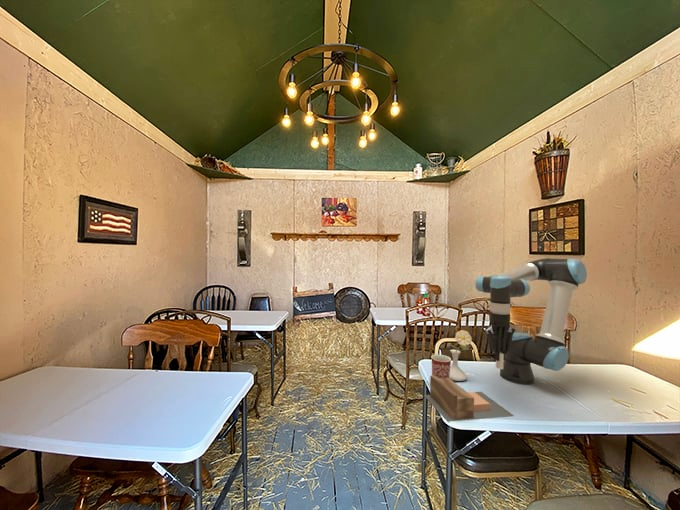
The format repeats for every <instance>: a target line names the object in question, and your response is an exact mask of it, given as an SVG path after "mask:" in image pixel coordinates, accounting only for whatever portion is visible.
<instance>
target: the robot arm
mask: <svg viewBox="0 0 680 510" xmlns="http://www.w3.org/2000/svg"><path fill="white" fill-rule="evenodd" d="M587 276H588V273H587V268H586V266H585V264H584V263H583V261H581V260H580V259H577V258H552V257H551V258H549V257H546V258H538V259H536V260H531V261H528V262H525V263H523V264H522V265H521V266H519V267H516V268H512V269H510V270H506V271H502V272H501V273H497V274H494V275H491V276H478V277H477V279H475V284H474V285H475V289H476V291H479V292H481V293H485V294H490V296H489V297H490V300H489V310H490V312H489V320H490V321H489V322H490V324H489V327H488V328H484V332H485V333H486V336H487V341H488V346H489V350H490V351H491V352H493V353H494V360H495V367H496V368H497V369H498V370H499V376H500V377H501V378H502V379H504V380H506V381H508V382H511V383H515V384H519V385H532V384H534V383H535V376H534V373H533V369H532V366H531V365H536V366H539V367H542V368H544V369H547V370H551V371H555V372H556V371H557V372H558V371H560V370H562V369H564V368H565V367H566V365H567V364H568V361H569V358H570V355H569V353H570V352H569V349H568V348H567V347H565V345H566V342H564V340H563V336H564V333H565V326H566V324H567V319H568V315H569V309H570V305H571V301H572V296H573V293H574V291H575V290H578V288H579V285H583V284H584V283H586V281H587ZM528 281H529V282H532V281H548V284H549V285H550V290H549V293H548V294H549V295H548V299H547V302H546V306H545V310H544V311H545V312H544V315H543V319H542V323H541V328H540V332H539V333H537V334H535V337H534V338H533V337H532V334H531V333H527V332H517V331H516V329H515V328H513V327H511V325H510V324H511V314H510V313H511V298H522V297H525V296H528V294H529V293H530V291H531V286H530V283H529V282H528Z"/></svg>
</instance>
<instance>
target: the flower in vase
mask: <svg viewBox="0 0 680 510" xmlns="http://www.w3.org/2000/svg"><path fill="white" fill-rule="evenodd" d="M455 333H456V334H455V338H454V339H455V340H456V341H455V342H457V344H459V347H458V348H457V346H454V345H453V344H450V346H451V347H453V348H454V349H450V350H449V351H450V353H451V355H452V364H451V365H450V375H449V378H450V379H451V380H452V381H453V382H461V381H465V380H467V378H468V375H467V373H465V372H464V371H463V369H461V368H460V366H459V364H458V363H459V362H458V361H459V355H460V354H461V352H462V351H460V350H459V349H460V348H461V349H462V350H464V351H467V350H469V349H470V347H469V345H471V342H472V340H473V339H472V336H471V334H470V332H469V331H467V330H463V329H462V330H458V331H457V332H455Z"/></svg>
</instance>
